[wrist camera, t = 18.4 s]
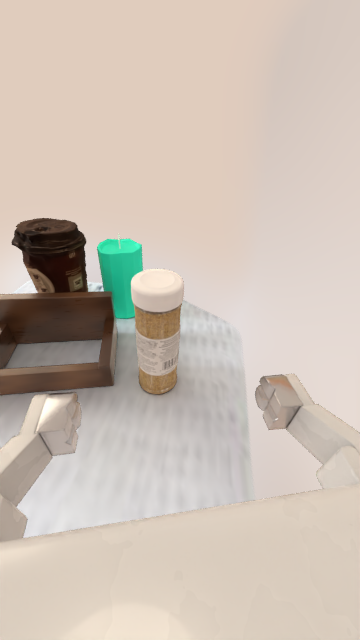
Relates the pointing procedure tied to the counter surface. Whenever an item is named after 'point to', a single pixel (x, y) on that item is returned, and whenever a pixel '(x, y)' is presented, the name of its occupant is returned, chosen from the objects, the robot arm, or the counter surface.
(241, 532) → the robot arm
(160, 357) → the sprinkles bottle
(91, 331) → the spice rack
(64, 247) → the coffee cup
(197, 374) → the counter surface
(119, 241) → the candle
